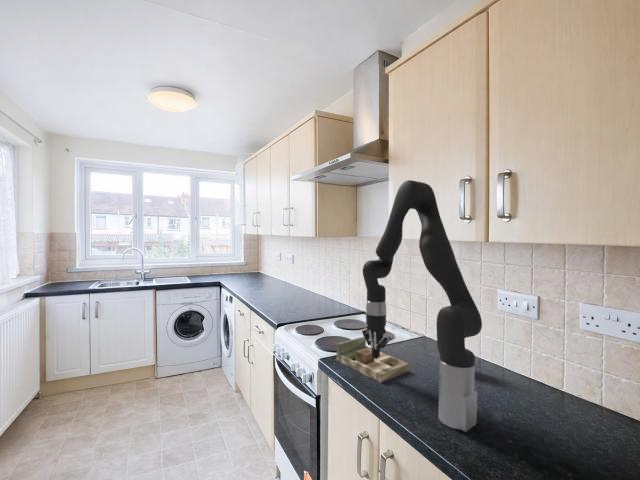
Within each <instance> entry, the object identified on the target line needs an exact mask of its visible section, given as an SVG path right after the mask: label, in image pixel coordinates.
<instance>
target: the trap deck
mask: <svg viewBox="0 0 640 480" xmlns="http://www.w3.org/2000/svg"><path fill="white" fill-rule="evenodd" d="M366 344H367V342H366V339H365V337H364V336H360V337H357V338H352V339H349V340H346V341H342V342H339V343H336V361H337V362H339V363H341V364H343V365H345V366H347V367H349V368H351V369H353V370H355V371H356V372H358V373H360V374H363V375H365V376H366V377H368V378H369V379H370V378H371V379H372V380H375V382H378V383H380V384H382V383H383V382H386V381H389V380H391V379H393V378H395V377H398V376H400V375H402V374H405V373H407V372H409V363H408V362H405V361H403V360H401V359H399V358H396V357H394V356H392V355H391V356H390V355H389V354H386V353H384V352H381V351H380V357H379V358H377V359H375V358H374V362H371V363H369V364H366V365H365V364H363V363H361V362H359V361H356V352H357V351H360V350H363V349H367V350H369V351H371V352H372V348H371V347H369V346H366Z"/></svg>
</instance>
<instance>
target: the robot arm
mask: <svg viewBox="0 0 640 480" xmlns="http://www.w3.org/2000/svg"><path fill="white" fill-rule="evenodd" d="M391 207H392V208H391V211H390V214H389V218H388V221H387V224H386V227H385V229H384V232H383V234H382V235H381V238H380V241H379V242H378V245H377V246H376V248H375V255H376V256H377V257H378V259H377V260H375V259H373V260H371V259H370V260H367V261H366V262H364V264H363V267H362V275H363V279H364V285H365V287H366V304H365V305H366V306H365V312H366V313H365V324H366V328H365V329H363V330H362V331H361V333H362V335H363V337H365V339H366V344H367V345H368V346H370V348H372V357H373V358H375V359H377V358H379V357H380V352H381V350H382V349H384V348H385V347H386V346H387V345H388V343H389V342H390V341H391V336H390V335H389V336H388V335H387V334H386V332H387V331H386V326H387V304H386V303H387V302H386V298H387V297H386V295H387V294H386V287H385V285H382V284H379V280H378V279H385V278H387V277H388V276H389V274H390V273H391V271H392V267H393V262H394V257H395V255H396V253H397V252H398V249H400V246H401V244H402V242H403V241H402V240H403V227H404V226H403V224H404V221H405V218H406V216H407V214H408V212H409V211H410V210H415V211H416V212H417V215H418V218H419V221H420V224H421V226H420V227H421V229H420V237H419V241H418V242H419V243H418V244H419V245H418V246H419V248H418V249H419V252H420V254H421V258H422V261H423V264H424V267H425V269H426V270H427V271H428V273H429V274H430V275H431V276H432V278H434V280H435V281H436V282H437V283H439V285H440V286H441V287H442V289H443V290H444V292H445V295H446V297H447V298H448V302H449V304H450V305H448V306H444V307H442V308H440V310H439V311H438V313H437V316H436V346H437V349H438V353H439V371H438V373H439V375H438V377H439V378H438V381H439V382H438V420H439V421H440V422H441V423H442V424H444V425H445V426H447V427H448V428H451V429H454V430H460V431H462V432H464V433H466V432H468V431H470V430H471V429H472V428H473V427H474V426H476V425H477V423H478V422H477V417H478V416H477V414H478V391H477V390H475V374H476V373H475V372H476V371H475V370H476V368H475V367H476V366H475V365H476V355H475V354H474V352H473V351H472V350H470V349H468V348H466V343H465V342H466V341H465V340H466V339H467V338H471V337H472V338H473V337H475V336H477V335H479V334H480V333H481V332H482V328H483V321H482V317H481V314H480V311H479V309H478V307H477V304H476V303H475V301H474V299H473V297H472V295H471V293H470V291H469V289H468V287H467V285H466V282H465V280H464V277H463V274H462V272H461V270H460V267H459V264H458V262H457V259H456V256H455V253H454V249H453V246H452V245H451V242H450V240H449V238H448V235H447V231H446V229H445V227H444V223H443V221H442V218H441V216H440V215H441V214H440V211H439V207H438V202H437V199H436V195H435V192H434V189H433V188H432V186H431V185H430V184H428V183H426V182H422V181H415V180H405V181H404V182H402V183H401V184H400V186H399V188H398V189H397V191H396V194H395V197H394V201H393V204H392V206H391Z"/></svg>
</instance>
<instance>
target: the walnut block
mask: <svg viewBox="0 0 640 480" xmlns="http://www.w3.org/2000/svg"><path fill="white" fill-rule="evenodd" d="M355 361H359V362H361V363H363V364H365V365H366V364H369V363H371V362H374V358H373V357H372V352H371V351H369V350H367V349H363V350H360V351H357V352H356V359H355Z"/></svg>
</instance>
